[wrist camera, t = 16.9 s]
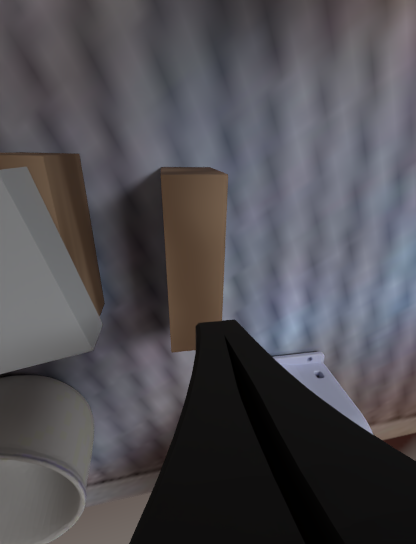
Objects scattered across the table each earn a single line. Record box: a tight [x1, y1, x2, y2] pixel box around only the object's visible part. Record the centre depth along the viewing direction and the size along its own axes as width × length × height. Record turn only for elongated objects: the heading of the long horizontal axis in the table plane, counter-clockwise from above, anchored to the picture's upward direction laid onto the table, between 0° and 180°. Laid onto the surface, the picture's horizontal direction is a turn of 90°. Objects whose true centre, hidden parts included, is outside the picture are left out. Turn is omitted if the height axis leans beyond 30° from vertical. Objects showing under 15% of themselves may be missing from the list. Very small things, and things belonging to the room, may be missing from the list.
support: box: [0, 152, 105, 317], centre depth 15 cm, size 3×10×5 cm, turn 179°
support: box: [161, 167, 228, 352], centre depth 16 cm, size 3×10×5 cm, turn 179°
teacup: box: [0, 375, 94, 544], centre depth 19 cm, size 14×11×8 cm
